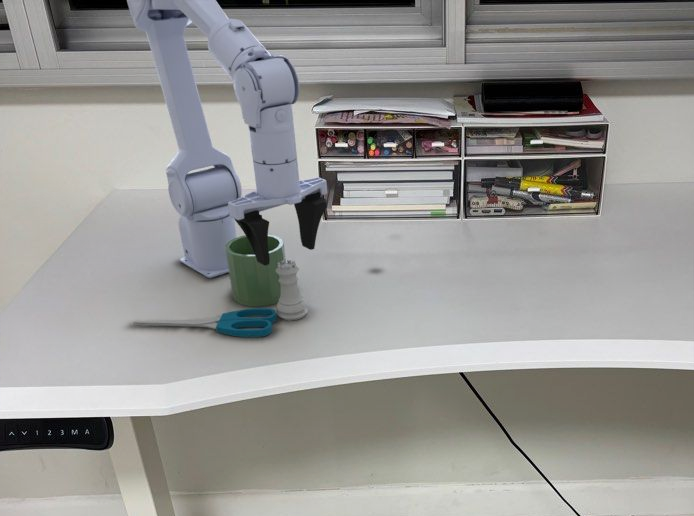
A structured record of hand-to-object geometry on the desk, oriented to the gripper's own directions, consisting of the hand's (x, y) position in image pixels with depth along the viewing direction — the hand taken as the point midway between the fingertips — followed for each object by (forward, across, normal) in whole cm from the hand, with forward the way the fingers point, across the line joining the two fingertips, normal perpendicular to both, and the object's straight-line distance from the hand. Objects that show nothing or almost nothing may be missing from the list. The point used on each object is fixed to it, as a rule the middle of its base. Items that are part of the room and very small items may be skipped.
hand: (286, 255), depth 111 cm
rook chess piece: (+9, -1, -1) cm, 9 cm away
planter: (+9, 0, +8) cm, 12 cm away
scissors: (+9, -12, +5) cm, 16 cm away
